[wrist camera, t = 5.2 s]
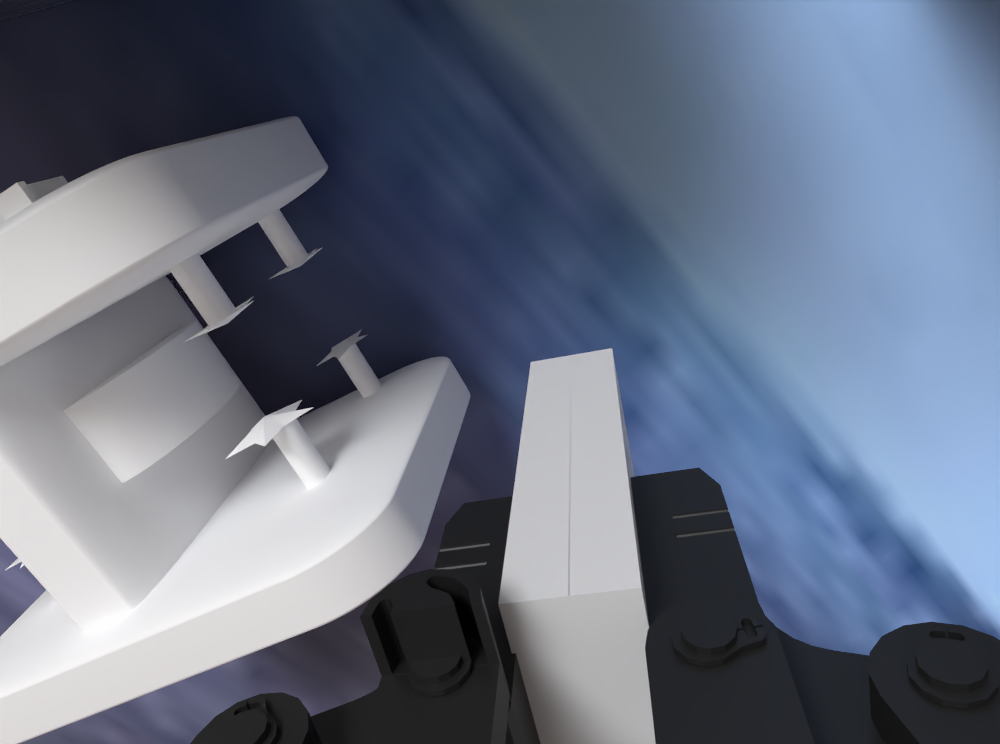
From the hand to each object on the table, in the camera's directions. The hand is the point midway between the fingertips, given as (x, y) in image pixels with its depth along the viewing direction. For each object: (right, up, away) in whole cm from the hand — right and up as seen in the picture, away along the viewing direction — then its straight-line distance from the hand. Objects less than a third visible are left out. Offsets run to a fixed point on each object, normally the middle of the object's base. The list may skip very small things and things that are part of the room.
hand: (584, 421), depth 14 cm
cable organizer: (-11, +2, +13) cm, 17 cm away
